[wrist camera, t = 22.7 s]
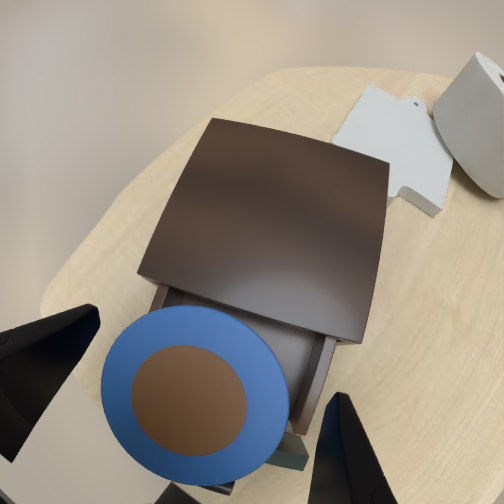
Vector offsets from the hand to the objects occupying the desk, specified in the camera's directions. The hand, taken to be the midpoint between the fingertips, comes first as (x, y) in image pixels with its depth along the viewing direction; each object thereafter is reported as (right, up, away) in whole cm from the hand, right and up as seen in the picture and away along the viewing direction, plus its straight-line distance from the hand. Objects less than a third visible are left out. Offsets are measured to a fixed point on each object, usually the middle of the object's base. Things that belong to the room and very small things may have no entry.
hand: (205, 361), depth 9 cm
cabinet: (+3, +4, +16) cm, 17 cm away
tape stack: (0, -5, +11) cm, 12 cm away
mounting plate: (+18, +16, +19) cm, 31 cm away
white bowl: (+31, +17, +18) cm, 39 cm away
